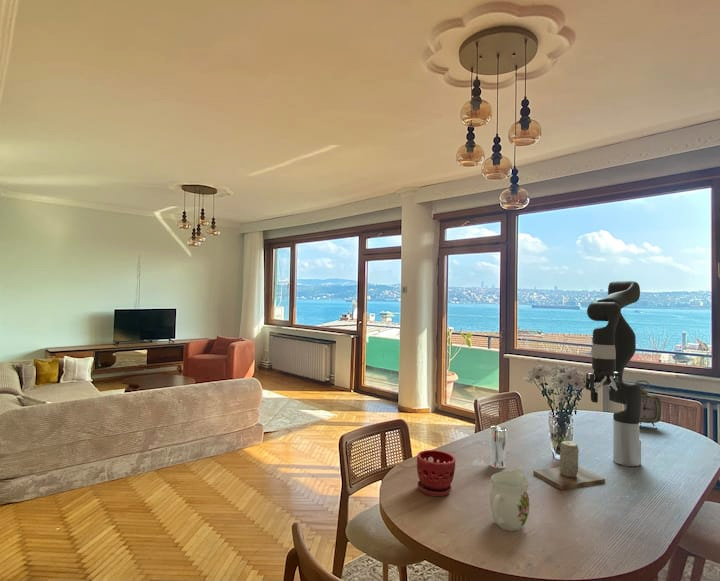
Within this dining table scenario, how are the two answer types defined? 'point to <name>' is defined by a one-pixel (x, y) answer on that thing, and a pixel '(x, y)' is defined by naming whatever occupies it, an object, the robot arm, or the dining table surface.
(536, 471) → the walnut board
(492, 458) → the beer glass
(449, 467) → the plant pot
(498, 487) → the pitcher
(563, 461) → the carving
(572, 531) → the dining table surface
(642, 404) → the tabletop clock
